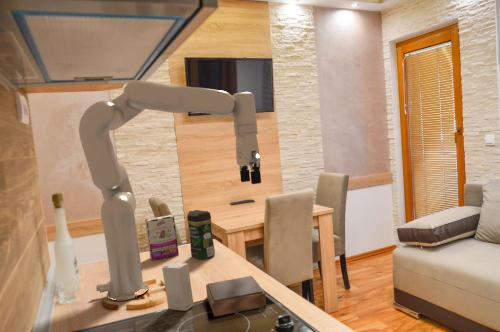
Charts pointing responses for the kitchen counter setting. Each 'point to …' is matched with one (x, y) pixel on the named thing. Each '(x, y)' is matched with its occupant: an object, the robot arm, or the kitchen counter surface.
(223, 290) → the walnut plinth
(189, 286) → the skincare box
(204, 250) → the coffee jar
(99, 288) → the robot arm
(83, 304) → the kitchen counter surface
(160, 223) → the candy bar box
